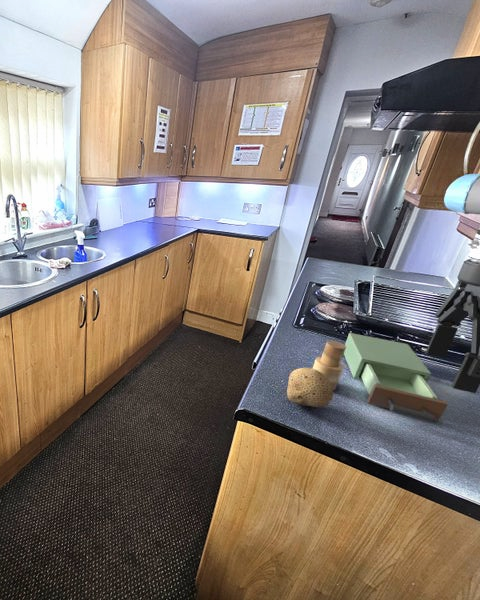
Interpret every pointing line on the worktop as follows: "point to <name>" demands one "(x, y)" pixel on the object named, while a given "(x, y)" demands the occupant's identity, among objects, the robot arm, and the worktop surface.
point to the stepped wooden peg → (331, 362)
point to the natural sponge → (309, 388)
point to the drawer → (401, 392)
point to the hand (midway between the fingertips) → (447, 370)
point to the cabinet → (381, 355)
